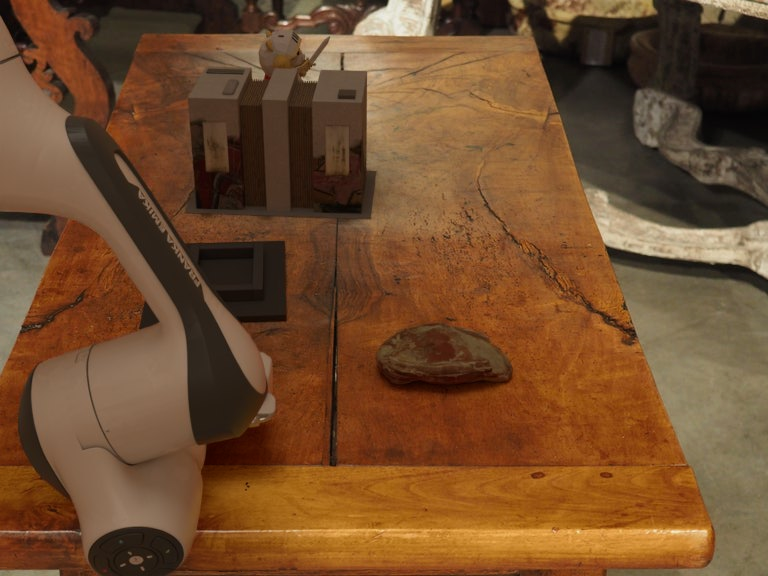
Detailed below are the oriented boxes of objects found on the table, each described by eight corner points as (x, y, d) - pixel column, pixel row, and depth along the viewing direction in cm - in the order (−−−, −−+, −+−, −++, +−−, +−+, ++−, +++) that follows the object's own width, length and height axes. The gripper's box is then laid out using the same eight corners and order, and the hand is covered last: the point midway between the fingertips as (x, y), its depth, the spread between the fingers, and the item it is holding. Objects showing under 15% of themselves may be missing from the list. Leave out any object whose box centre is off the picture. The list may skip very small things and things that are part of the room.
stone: (481, 335, 118) (483, 310, 117) (517, 383, 110) (519, 357, 108) (364, 351, 115) (365, 326, 113) (392, 403, 106) (393, 377, 105)
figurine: (312, 140, 166) (311, 45, 158) (241, 134, 167) (236, 40, 160) (330, 111, 177) (330, 21, 169) (263, 105, 178) (259, 16, 171)
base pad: (159, 325, 119) (157, 307, 117) (172, 249, 134) (171, 232, 133) (286, 320, 120) (285, 303, 119) (284, 245, 135) (284, 229, 134)
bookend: (370, 219, 142) (372, 102, 134) (183, 213, 143) (173, 97, 135) (376, 170, 156) (377, 62, 148) (205, 165, 157) (197, 57, 149)
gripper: (275, 394, 92) (275, 311, 104) (32, 403, 90) (60, 317, 102) (277, 452, 95) (277, 365, 107) (42, 462, 94) (68, 372, 105)
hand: (169, 342), depth 105 cm, fingers open, 8 cm apart
